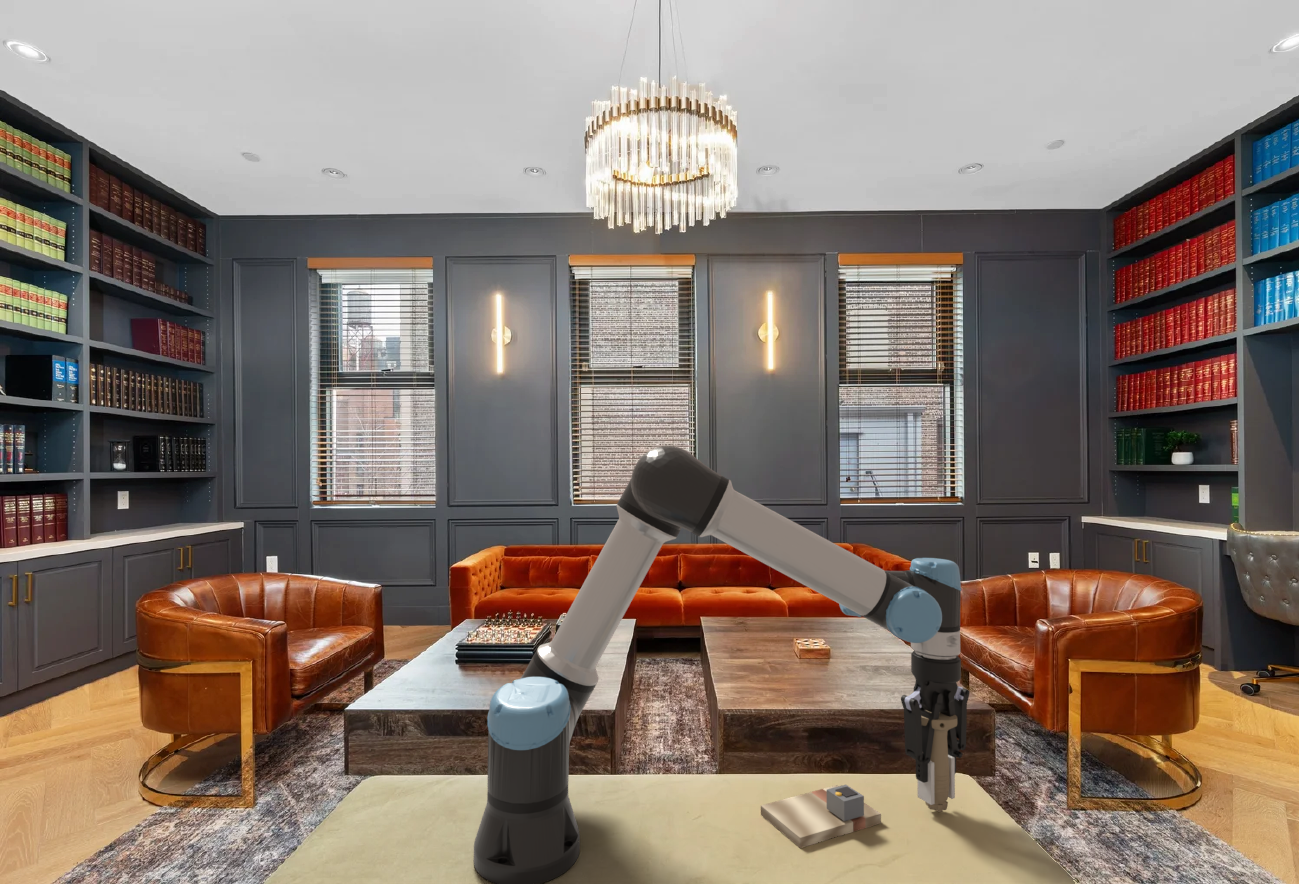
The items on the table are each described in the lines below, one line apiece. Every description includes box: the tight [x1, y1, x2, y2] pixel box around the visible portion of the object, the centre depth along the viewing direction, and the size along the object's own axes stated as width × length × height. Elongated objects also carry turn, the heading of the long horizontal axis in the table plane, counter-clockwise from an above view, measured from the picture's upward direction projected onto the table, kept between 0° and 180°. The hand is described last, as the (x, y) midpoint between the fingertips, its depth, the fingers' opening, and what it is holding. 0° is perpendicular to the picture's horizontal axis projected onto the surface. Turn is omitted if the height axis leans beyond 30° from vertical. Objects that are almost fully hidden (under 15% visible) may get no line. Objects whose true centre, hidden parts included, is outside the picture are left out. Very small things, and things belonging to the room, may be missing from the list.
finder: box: [827, 784, 865, 821], centre depth 100 cm, size 4×4×3 cm
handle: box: [921, 710, 957, 813], centre depth 104 cm, size 5×6×15 cm
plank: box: [760, 784, 882, 849], centre depth 101 cm, size 16×10×2 cm, turn 115°
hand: (936, 797), depth 104 cm, fingers closed on handle, 4 cm apart
